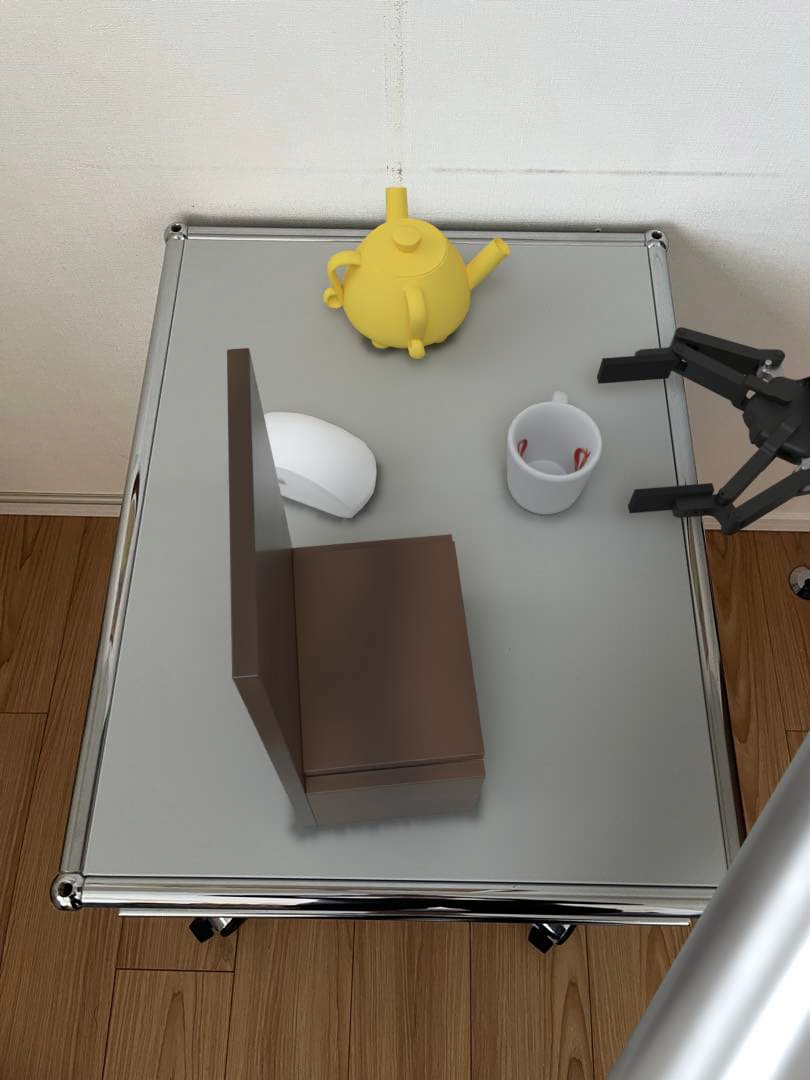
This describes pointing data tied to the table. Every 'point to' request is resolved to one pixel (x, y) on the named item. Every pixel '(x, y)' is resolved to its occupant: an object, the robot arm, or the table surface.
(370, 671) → the wooden chair
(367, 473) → the computer mouse
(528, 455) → the cup
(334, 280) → the teapot
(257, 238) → the table surface
